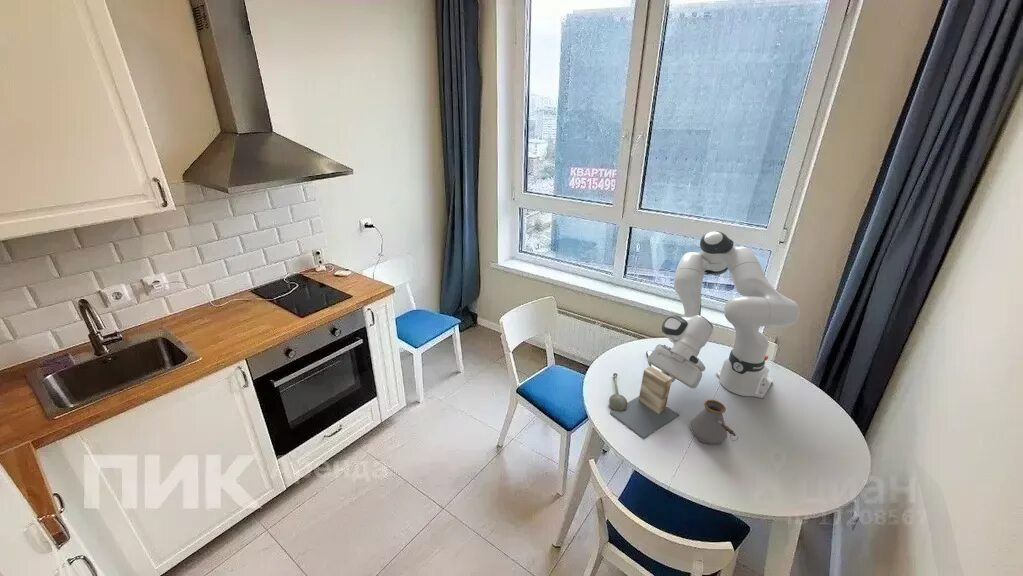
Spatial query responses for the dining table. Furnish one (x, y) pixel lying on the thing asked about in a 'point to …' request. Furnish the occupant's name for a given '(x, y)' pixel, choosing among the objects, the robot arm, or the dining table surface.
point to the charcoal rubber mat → (643, 417)
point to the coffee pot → (711, 424)
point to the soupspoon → (617, 399)
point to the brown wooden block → (655, 389)
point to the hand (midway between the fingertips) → (662, 384)
